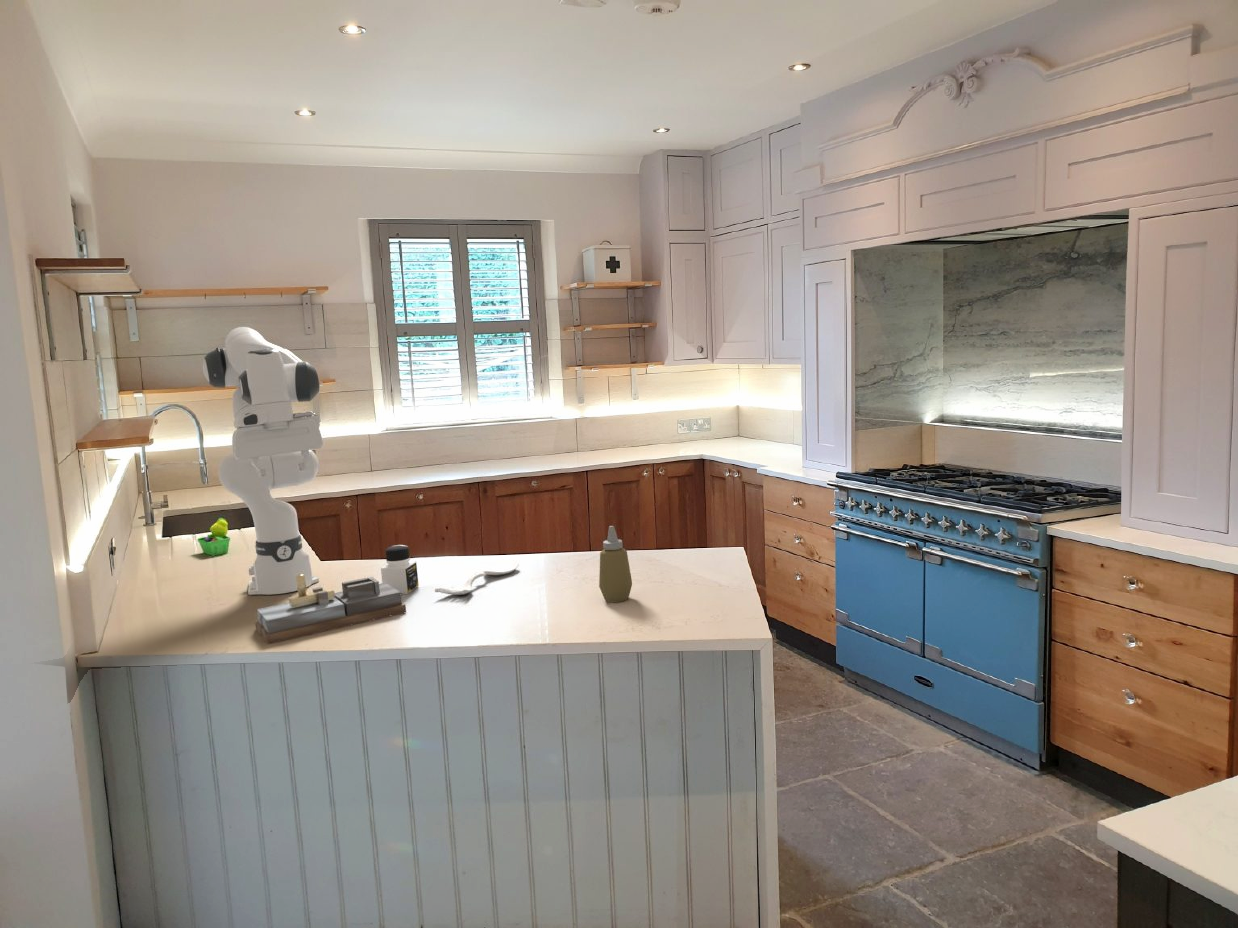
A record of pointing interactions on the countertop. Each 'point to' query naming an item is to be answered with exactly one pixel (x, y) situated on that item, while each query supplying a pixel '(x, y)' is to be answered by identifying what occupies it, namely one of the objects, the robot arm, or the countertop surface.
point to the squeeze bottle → (614, 569)
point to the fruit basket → (216, 539)
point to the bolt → (302, 593)
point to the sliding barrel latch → (330, 610)
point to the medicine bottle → (400, 569)
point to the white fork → (494, 569)
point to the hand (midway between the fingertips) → (283, 473)
